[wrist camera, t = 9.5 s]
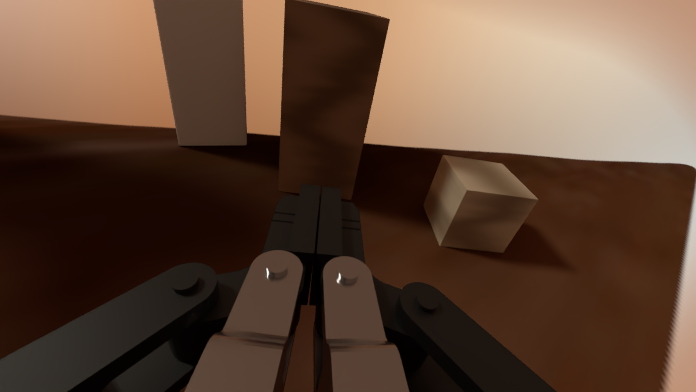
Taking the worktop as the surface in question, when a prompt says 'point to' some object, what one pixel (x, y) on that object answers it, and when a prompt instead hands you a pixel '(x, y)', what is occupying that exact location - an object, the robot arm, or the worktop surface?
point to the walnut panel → (326, 93)
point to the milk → (205, 69)
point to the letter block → (476, 204)
